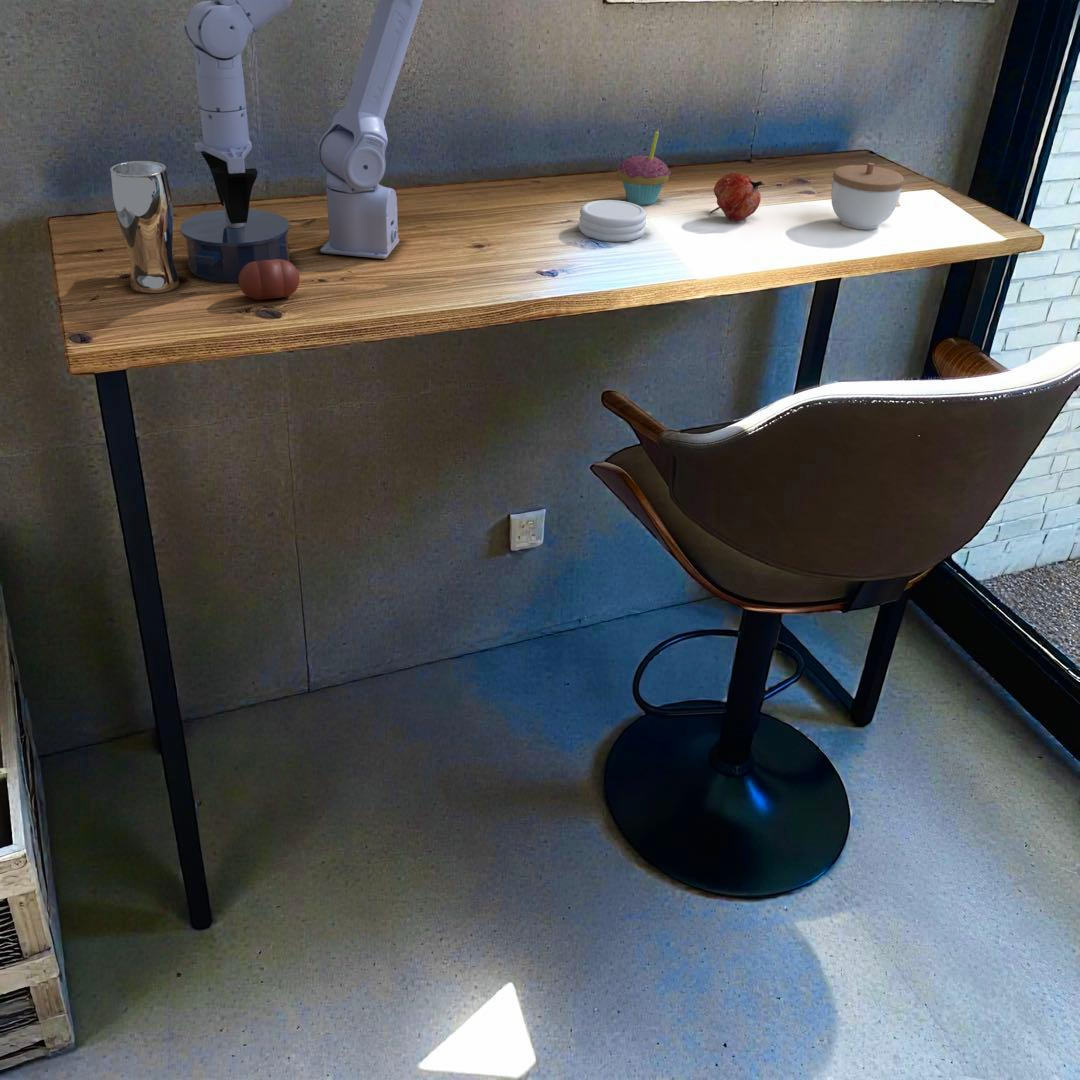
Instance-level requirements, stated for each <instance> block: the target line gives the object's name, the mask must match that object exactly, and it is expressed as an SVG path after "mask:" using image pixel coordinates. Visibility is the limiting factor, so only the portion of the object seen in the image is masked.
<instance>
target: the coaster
mask: <svg viewBox="0 0 1080 1080" xmlns="http://www.w3.org/2000/svg"><path fill="white" fill-rule="evenodd" d="M579 214H580V216H579V224H578V228H579V229H578V230H579V231H580V232H581V233H582V234H583V235H585V236H586V237H588V238H591V239H594V240H597V241H604V242H613V243H618V242H619V243H622V242H630V241H635V240H637V239H640V238H641V237H643V235H645V232H646V224H647V222H646V218H647V211H646V210H645V209H644V207H642V206H640V205H639V204H634V203H631V202H629V201H623V200H617V199H616V200H614V199H600V200H593V201H588V202H587V203H585V204H583V205H582V206H581V207H580V209H579Z"/></svg>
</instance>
